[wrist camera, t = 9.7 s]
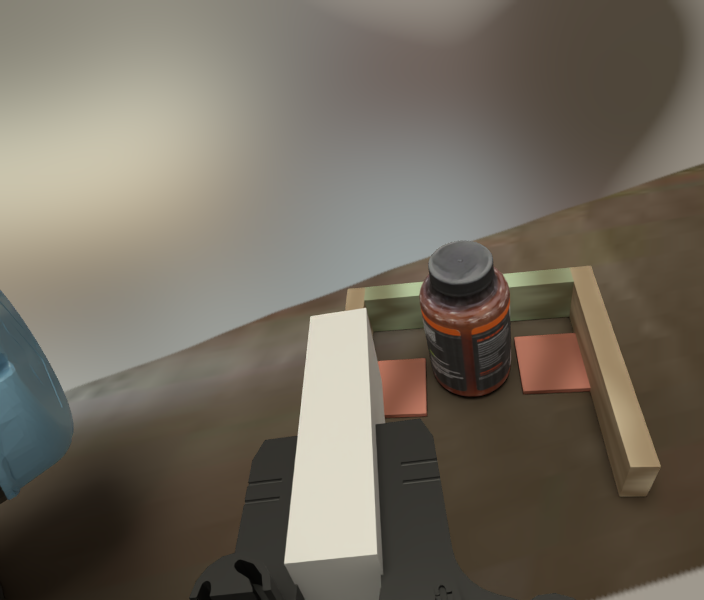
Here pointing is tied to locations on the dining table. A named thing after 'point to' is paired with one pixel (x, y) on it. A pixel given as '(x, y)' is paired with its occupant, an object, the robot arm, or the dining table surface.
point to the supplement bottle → (466, 319)
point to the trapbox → (536, 360)
